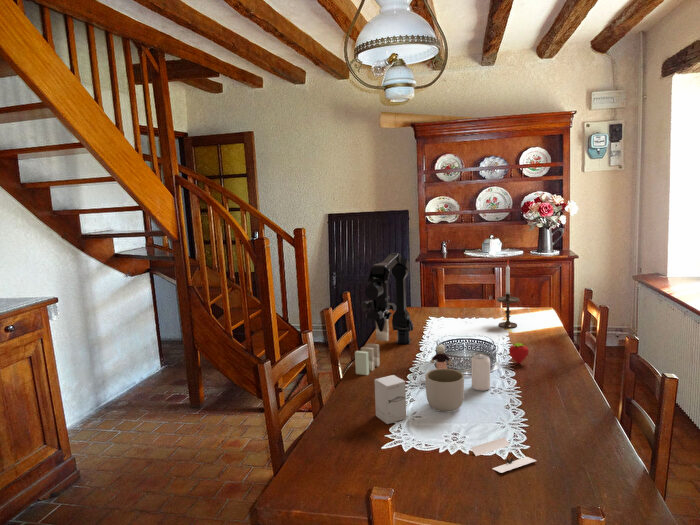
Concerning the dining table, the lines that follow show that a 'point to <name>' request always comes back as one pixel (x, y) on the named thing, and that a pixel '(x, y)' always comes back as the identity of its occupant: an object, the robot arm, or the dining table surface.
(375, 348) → the domino
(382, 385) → the supplement box
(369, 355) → the domino
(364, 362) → the sage end domino
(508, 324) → the candlestick
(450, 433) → the dining table surface
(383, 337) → the domino
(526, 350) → the strawberry
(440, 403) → the planter
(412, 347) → the dining table surface
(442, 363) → the grandmother figurine
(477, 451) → the pale pink flat slab
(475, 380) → the can
